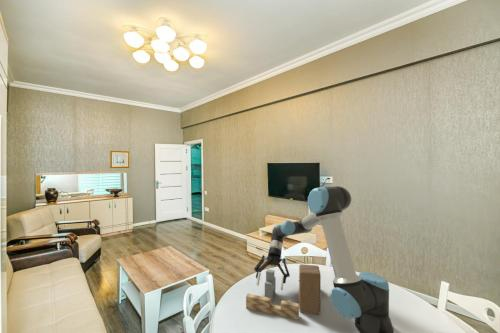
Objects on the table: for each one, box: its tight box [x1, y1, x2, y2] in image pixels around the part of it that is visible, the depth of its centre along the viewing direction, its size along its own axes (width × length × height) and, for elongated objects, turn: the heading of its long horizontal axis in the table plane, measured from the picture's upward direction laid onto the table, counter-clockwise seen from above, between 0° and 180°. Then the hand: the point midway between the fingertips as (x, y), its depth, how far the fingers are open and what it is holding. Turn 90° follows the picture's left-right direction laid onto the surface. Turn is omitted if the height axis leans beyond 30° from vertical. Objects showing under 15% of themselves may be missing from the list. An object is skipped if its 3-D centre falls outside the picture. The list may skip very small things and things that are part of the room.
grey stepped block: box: [264, 268, 277, 302], centre depth 126 cm, size 8×4×14 cm, turn 161°
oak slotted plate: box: [245, 293, 300, 320], centre depth 112 cm, size 26×2×6 cm, turn 71°
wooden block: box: [298, 263, 322, 315], centre depth 115 cm, size 10×10×20 cm
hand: (269, 287), depth 123 cm, fingers open, 13 cm apart
